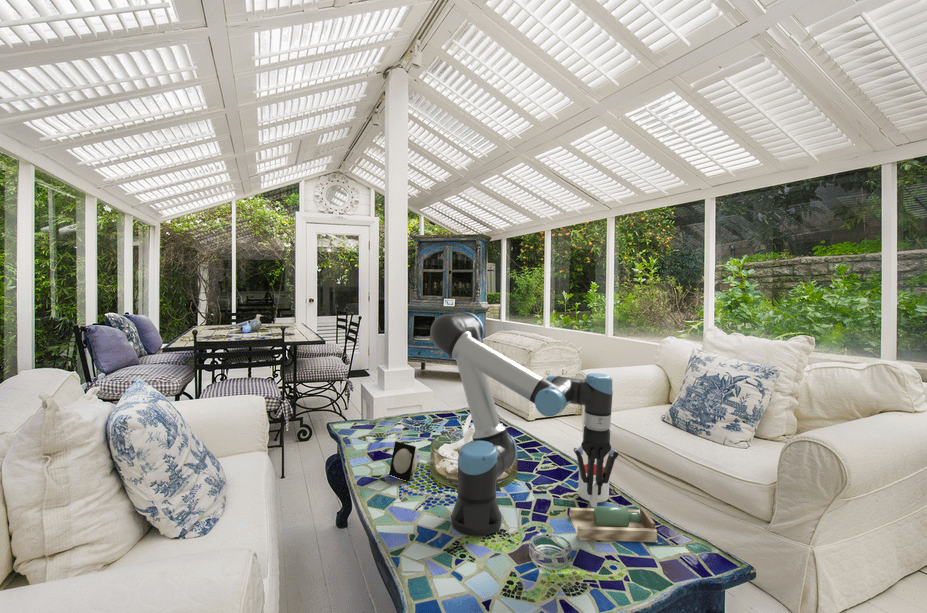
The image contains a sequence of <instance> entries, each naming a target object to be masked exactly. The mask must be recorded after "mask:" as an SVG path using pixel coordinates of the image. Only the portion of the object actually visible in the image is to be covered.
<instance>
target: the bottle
mask: <svg viewBox="0 0 927 613" xmlns="http://www.w3.org/2000/svg"><path fill="white" fill-rule="evenodd" d="M593 508H594V521H595V524H596V526H611V527H628V526H629V522H638V523H642V515H641V513H640V512H637V513H630V512H628V510H627V509H628V507H626V506H604V505H597V507H593Z"/></svg>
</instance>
